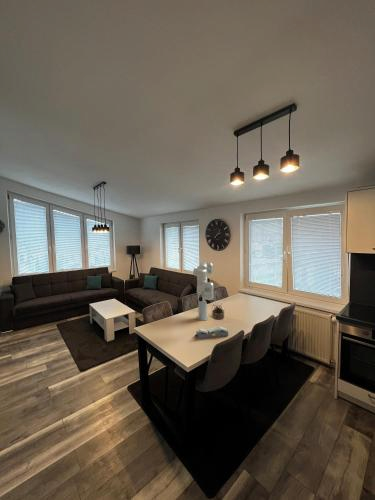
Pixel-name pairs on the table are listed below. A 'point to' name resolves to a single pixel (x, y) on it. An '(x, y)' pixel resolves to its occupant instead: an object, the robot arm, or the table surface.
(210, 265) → the robot arm
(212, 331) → the rocker
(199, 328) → the rocker
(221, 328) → the rocker
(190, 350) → the table surface
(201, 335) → the power strip
